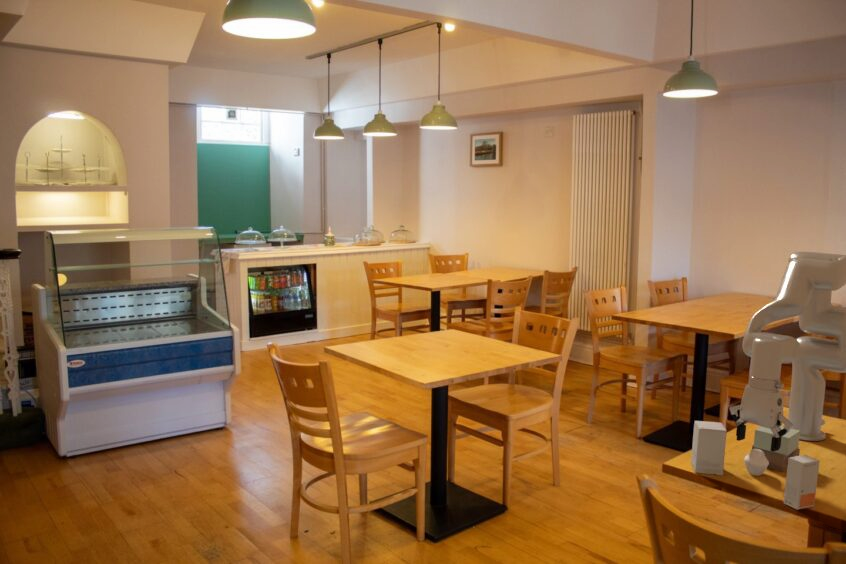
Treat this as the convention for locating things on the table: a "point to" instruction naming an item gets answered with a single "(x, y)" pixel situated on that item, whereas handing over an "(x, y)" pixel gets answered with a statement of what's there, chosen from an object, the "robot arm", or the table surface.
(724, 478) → the table surface
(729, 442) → the table surface
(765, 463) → the muffin
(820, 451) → the table surface
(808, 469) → the skincare box
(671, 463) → the table surface
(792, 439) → the top block
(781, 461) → the bottom block
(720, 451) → the supplement box
